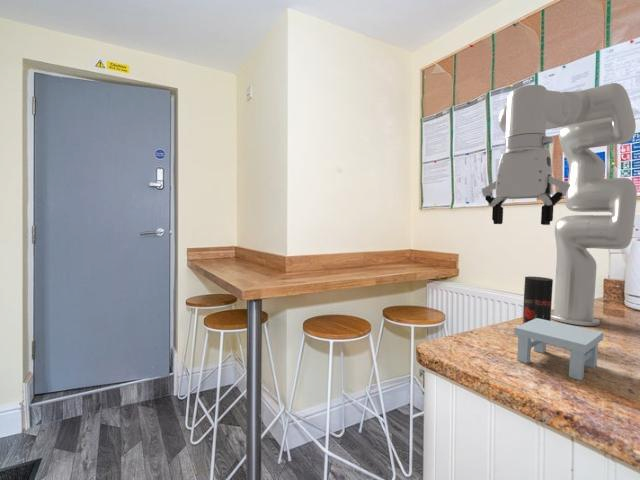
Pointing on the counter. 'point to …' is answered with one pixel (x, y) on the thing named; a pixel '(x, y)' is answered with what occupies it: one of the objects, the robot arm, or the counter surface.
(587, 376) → the counter surface
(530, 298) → the deodorant
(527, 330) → the pale blue square tabletop
